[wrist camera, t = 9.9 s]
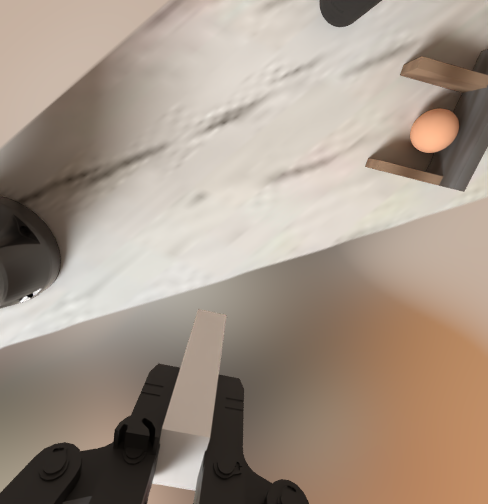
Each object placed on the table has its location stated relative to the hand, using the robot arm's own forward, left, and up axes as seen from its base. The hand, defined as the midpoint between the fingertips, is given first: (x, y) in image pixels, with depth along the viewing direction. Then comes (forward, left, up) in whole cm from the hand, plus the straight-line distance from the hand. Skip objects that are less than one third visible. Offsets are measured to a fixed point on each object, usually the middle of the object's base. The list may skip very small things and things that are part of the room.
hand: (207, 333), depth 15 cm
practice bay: (+19, +17, -24) cm, 35 cm away
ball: (+20, +15, -22) cm, 33 cm away
